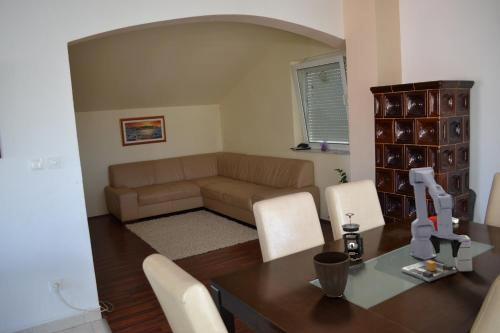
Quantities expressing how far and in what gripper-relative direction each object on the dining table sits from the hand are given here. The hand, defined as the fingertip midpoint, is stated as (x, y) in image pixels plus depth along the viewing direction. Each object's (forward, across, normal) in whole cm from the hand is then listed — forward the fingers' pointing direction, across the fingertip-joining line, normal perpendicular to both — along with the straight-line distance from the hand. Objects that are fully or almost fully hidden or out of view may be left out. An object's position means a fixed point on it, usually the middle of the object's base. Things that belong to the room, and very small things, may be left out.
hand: (446, 255), depth 174 cm
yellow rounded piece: (+8, -7, -1) cm, 10 cm away
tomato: (+10, -33, +46) cm, 57 cm away
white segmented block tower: (+10, 0, +12) cm, 16 cm away
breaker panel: (+10, -8, 0) cm, 13 cm away
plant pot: (+10, -22, -45) cm, 51 cm away
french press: (+10, -45, -8) cm, 46 cm away
